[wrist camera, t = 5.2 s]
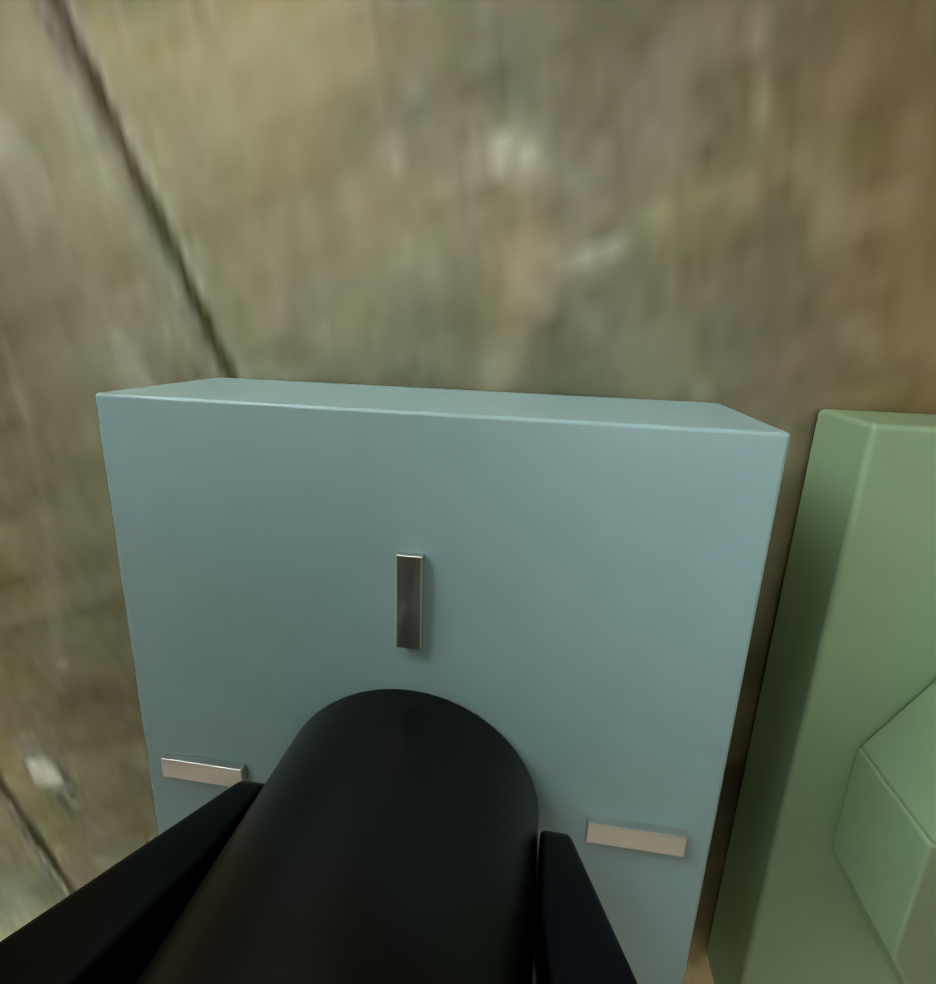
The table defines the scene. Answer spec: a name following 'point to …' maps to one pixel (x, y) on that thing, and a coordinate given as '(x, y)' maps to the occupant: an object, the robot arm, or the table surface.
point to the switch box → (844, 729)
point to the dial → (373, 858)
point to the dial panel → (455, 596)
